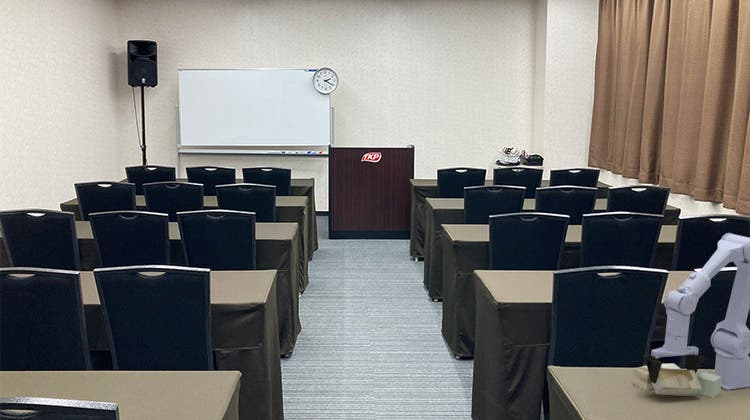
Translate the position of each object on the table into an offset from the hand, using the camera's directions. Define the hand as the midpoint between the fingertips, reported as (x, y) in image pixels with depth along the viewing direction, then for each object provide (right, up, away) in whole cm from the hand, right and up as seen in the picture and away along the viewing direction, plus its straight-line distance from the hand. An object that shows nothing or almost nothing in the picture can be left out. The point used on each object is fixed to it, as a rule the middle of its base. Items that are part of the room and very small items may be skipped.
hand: (672, 380), depth 202 cm
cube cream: (+2, -3, +9) cm, 9 cm away
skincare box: (+6, -1, 0) cm, 6 cm away
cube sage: (+11, -4, +1) cm, 12 cm away
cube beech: (-5, -3, +6) cm, 9 cm away
